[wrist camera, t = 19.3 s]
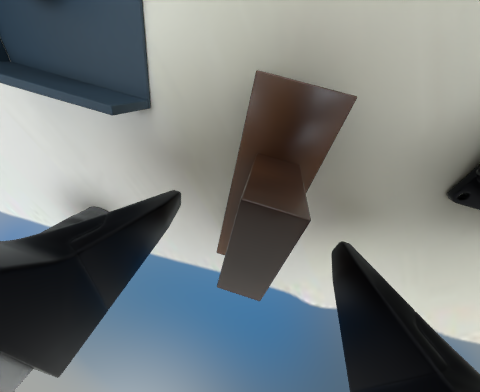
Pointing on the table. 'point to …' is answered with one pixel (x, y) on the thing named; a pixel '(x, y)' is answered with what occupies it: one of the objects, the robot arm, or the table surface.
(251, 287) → the brush
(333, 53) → the table surface
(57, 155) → the table surface
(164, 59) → the table surface
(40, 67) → the dustpan
